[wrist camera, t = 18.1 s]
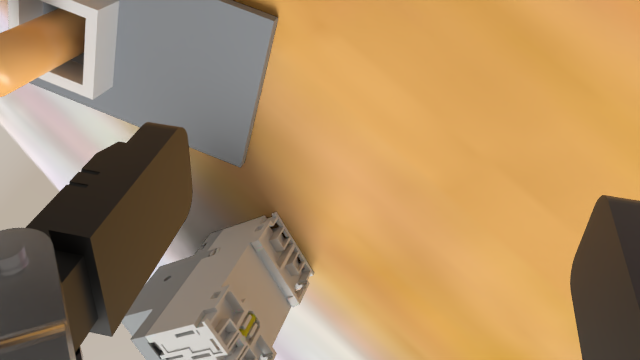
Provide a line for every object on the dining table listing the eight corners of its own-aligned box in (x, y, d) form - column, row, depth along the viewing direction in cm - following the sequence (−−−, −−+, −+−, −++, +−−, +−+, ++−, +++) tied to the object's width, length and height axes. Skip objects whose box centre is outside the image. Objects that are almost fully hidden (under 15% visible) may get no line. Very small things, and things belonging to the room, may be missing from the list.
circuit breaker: (166, 248, 64) (79, 352, 52) (276, 211, 57) (206, 321, 45) (204, 302, 66) (130, 414, 54) (314, 273, 60) (258, 392, 47)
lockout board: (31, 76, 58) (0, 92, 54) (29, -76, 50) (-6, -68, 46) (244, 162, 55) (226, 184, 52) (278, 17, 48) (259, 32, 44)
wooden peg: (54, 43, 54) (-33, 86, 46) (53, -1, 51) (-39, 36, 43) (94, 58, 53) (13, 104, 45) (95, 14, 51) (10, 54, 43)
